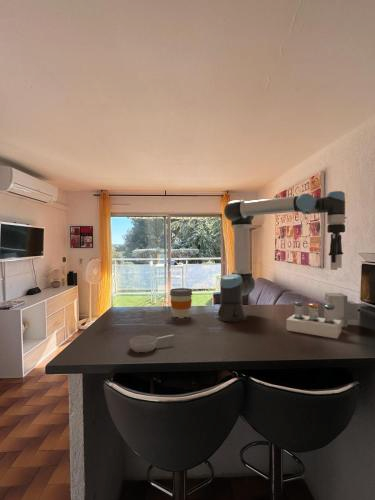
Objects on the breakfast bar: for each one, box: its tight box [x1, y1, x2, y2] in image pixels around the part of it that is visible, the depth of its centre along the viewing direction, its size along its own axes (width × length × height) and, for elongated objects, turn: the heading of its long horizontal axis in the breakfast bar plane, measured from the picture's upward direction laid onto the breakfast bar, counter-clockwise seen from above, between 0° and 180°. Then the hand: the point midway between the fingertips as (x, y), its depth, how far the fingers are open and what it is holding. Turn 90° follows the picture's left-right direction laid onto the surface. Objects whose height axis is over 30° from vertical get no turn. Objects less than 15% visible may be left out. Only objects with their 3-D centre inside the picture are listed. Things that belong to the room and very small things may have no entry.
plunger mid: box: [308, 302, 320, 322], centre depth 128 cm, size 4×4×9 cm
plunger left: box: [293, 301, 305, 320], centre depth 132 cm, size 4×4×9 cm
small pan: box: [129, 333, 175, 353], centre depth 110 cm, size 11×18×4 cm, turn 114°
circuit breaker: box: [324, 292, 361, 328], centre depth 137 cm, size 8×14×15 cm, turn 78°
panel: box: [286, 313, 342, 339], centre depth 128 cm, size 21×12×5 cm, turn 54°
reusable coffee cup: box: [169, 287, 193, 319], centre depth 158 cm, size 13×12×15 cm
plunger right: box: [323, 304, 335, 324], centre depth 125 cm, size 4×4×9 cm
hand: (336, 268), depth 134 cm, fingers open, 13 cm apart
